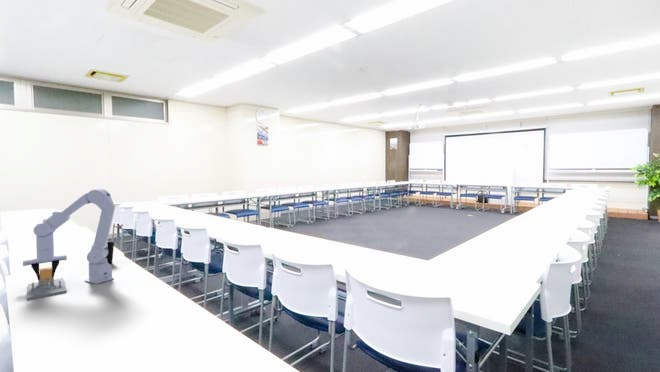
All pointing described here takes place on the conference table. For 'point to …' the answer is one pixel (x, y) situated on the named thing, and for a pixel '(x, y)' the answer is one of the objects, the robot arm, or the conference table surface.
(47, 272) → the block
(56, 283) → the board
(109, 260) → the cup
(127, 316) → the conference table surface
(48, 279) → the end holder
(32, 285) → the clips
